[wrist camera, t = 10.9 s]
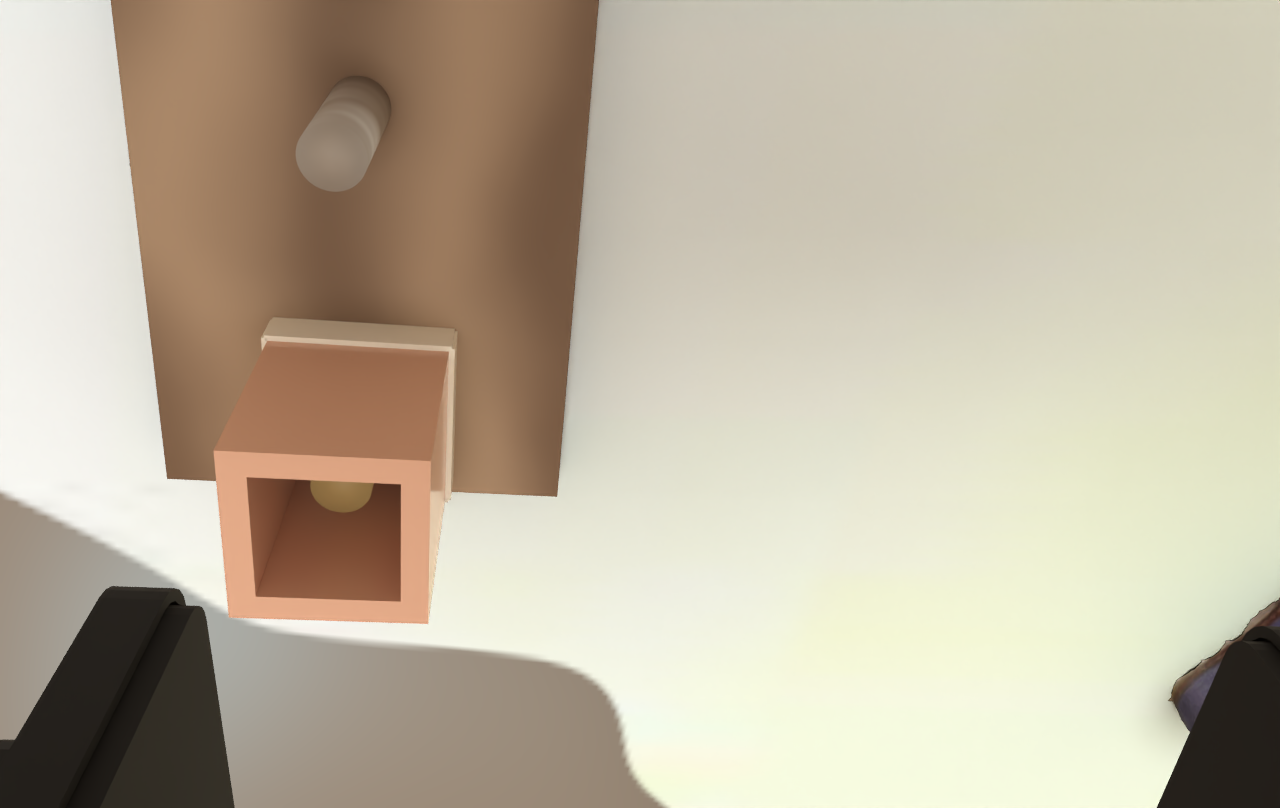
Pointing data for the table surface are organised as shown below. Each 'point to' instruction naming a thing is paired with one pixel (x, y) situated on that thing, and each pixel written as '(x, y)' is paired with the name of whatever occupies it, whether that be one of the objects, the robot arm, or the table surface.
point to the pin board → (362, 202)
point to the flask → (1212, 671)
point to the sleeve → (338, 471)
